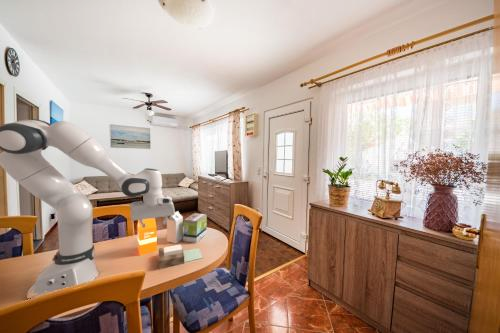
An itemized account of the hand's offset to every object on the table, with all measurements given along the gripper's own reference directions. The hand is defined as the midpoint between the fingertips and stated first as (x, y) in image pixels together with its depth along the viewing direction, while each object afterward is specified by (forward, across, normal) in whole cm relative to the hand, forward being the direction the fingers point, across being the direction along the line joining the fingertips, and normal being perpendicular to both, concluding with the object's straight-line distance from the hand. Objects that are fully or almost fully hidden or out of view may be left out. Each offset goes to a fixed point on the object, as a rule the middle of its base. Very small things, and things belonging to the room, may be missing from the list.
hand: (154, 225), depth 99 cm
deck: (+20, +8, 0) cm, 21 cm away
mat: (+20, +18, 0) cm, 27 cm away
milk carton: (+20, +11, +23) cm, 33 cm away
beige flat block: (+16, +9, 0) cm, 18 cm away
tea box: (+21, +24, +22) cm, 39 cm away
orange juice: (+20, -5, +16) cm, 26 cm away
